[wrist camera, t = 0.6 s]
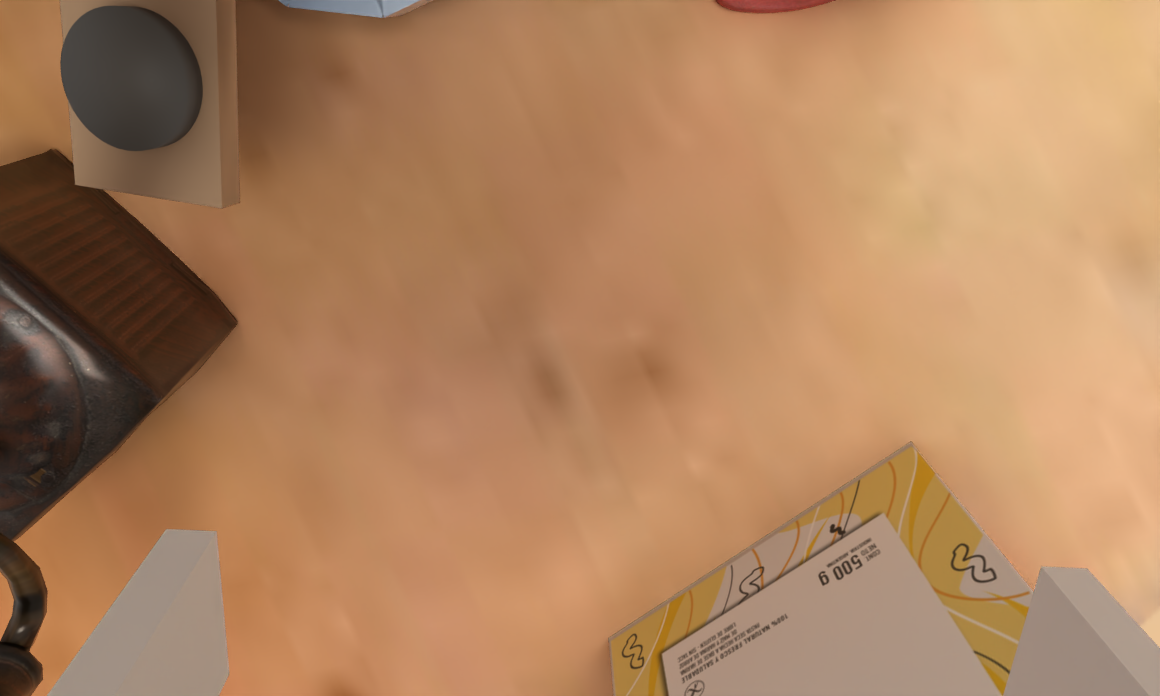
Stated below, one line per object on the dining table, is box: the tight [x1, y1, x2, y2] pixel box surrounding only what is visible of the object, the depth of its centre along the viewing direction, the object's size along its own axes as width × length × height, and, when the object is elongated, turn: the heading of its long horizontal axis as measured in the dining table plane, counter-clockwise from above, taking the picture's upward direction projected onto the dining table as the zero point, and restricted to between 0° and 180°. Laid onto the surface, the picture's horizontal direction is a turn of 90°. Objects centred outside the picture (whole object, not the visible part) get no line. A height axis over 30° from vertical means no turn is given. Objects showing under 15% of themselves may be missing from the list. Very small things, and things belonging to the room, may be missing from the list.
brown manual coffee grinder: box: [0, 149, 237, 696], centre depth 33 cm, size 16×11×18 cm
